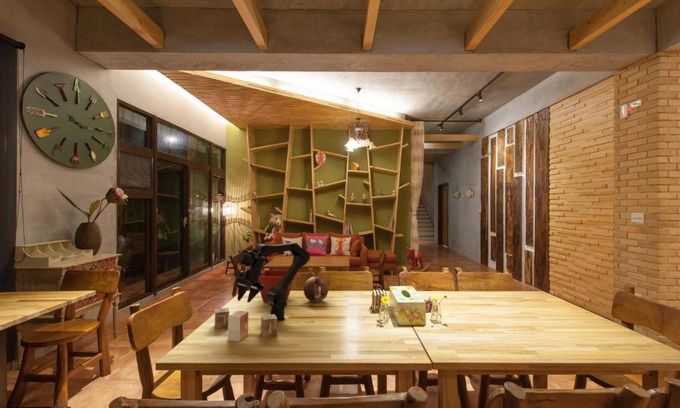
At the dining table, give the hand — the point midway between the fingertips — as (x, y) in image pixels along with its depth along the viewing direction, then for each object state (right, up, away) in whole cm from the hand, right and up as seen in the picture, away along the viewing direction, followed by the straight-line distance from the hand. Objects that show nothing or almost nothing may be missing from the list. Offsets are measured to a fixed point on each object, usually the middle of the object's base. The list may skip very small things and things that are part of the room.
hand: (243, 301), depth 156 cm
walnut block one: (+14, -12, -8) cm, 20 cm away
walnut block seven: (-10, -12, 0) cm, 16 cm away
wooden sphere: (+31, -14, +45) cm, 56 cm away
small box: (+1, -12, -12) cm, 17 cm away
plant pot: (+6, -13, +46) cm, 48 cm away
